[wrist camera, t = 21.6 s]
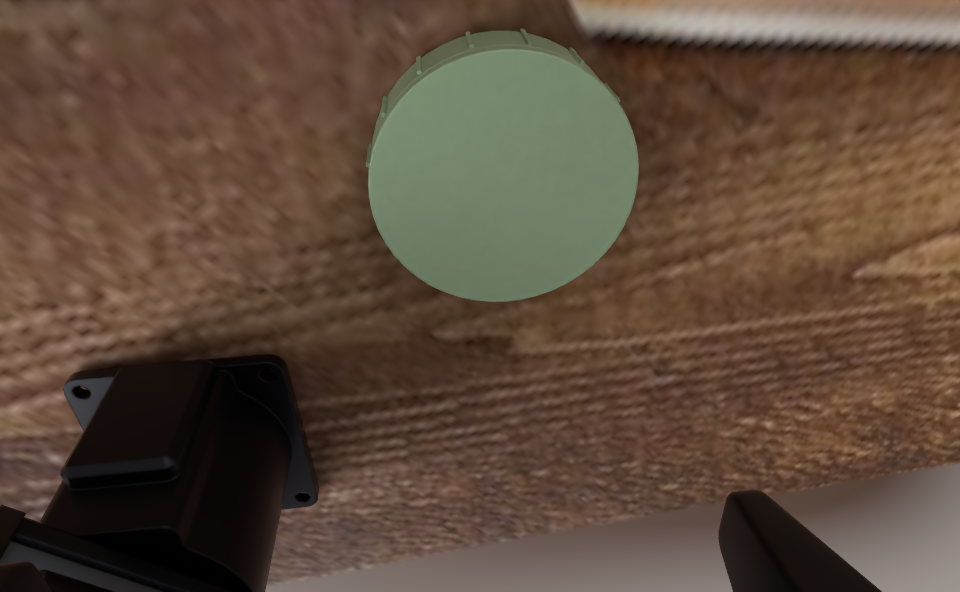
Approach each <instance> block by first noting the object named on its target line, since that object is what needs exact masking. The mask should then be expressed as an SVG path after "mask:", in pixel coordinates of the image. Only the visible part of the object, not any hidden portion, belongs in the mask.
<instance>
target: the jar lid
mask: <svg viewBox="0 0 960 592" xmlns="http://www.w3.org/2000/svg"><path fill="white" fill-rule="evenodd" d="M465 34H466V36H463V37H459V38H457V39H454V40H452V41H450V42H447V43H445V44H442V45H441V46H439V47H437V48H436V49H434V50H432V51H430V52H429V53H427V54H426V55H424V56H423V57H422V58H421V56H420V55H419V56H418V57H416V62H415V63H414V64H413V65H412V66H411V67H410V68H409V69H408V70H407V71H406V72H405V73H404V74H403V75H402V76H401V77H400V79H399V80H398V81H397V83H396V84H395V85H394V87H393V88H392V90H391V91H390V93H389V95H388V96H387V97H386V96H384V97H383V98H382V106H381V111H380V113H379V116H378V119H377V121H376V126H375V130H374V134H373V140H372V144H369V146H368V153H367V160H366V167H369V173H368V192H369V201H370V206H371V211H372V215H373V218H374V220H375V223H376V226H377V229H378V231H379V233H380V234H381V236H382V238H383V240H384V242H385V244H386V245H387V247H388V248H389V249H390V251H391V252H392V254H393V255H394V256H395V257H396V258H397V259H398V260H399V262H400V263H401V264H402V265H403V266H404V267H405V268H406V269H408V270H409V271H410V272H411V273H412V274H414V275H415V276H416V277H417V278H419V279H420V280H422V281H424V282H425V283H427V284H428V285H430V286H432V287H434V288H436V289H438V290H441V291H443V292H445V293H448V294H451V295H454V296H457V297H460V298H465V299H470V300H475V301H485V302H508V301H516V300H523V299H527V298H531V297H535V296H539V295H542V294H545V293H547V292H550V291H553V290H555V289H557V288H559V287H561V286H563V285H565V284H567V283H569V282H571V281H572V280H574V279H575V278H577V277H579V276H580V275H582V274H583V273H584V272H585V271H587V270H588V269H589V268H590V267H592V266H593V265H594V264H595V263H596V262H597V261H598V260H599V259H600V258H601V257H602V256H603V255H604V254H605V253H606V252H607V251H608V249H609V248H610V247H611V245H612V244H613V243H614V242H615V240H616V239H617V237H618V235H619V234H620V232H621V231H622V229H623V227H624V225H625V223H626V221H627V219H628V217H629V214H630V212H631V209H632V206H633V203H634V199H635V196H636V190H637V185H638V173H639V161H638V151H637V145H636V141H635V137H634V133H633V130H632V128H631V125H630V123H629V120H628V118H627V116H626V114H625V112H624V111H623V109H622V107H621V106H620V104H619V103H620V102H621V101H620V99H619V98H618V96H617V95H616V94H615V93H614V92H613V90H612V89H611V88H610V87H609V86H608V85H607V83H605V84H603V83H602V82H601V80H600V79H599V78H598V77H597V76H596V74H595V73H594V72H593V71H592V70H591V68H590V67H589V66H588V65H587V64H586V63H585V62H584V61H583V60H582V59H581V57H580V56H579V55H578V54H577V53H576V51H575V50H574V49H573V48H571V47H570V48H569V50H568V49H566V48H565V47H563V46H561V45H559V44H557V43H555V42H553V41H551V40H548V39H546V38H543V37H539V36H536V35H533V34H529V33H527V32H526V31H525V29H520V32H516V31H488V32H479V33H474V34H470V31H468V32H465Z"/></svg>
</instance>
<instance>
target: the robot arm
mask: <svg viewBox="0 0 960 592" xmlns="http://www.w3.org/2000/svg"><path fill="white" fill-rule="evenodd" d="M264 369H271V370H273V371H274V372H275V373H273V374H270V373H266V372H264V371H263V370H264ZM80 386H83V387H85V388H88V389H89V390H85V389H83V388H81V387H80ZM63 390H64V394H65V396H66V398H67V400H68V402H69V404H70V406H71V408H72V410H73V412H74V414H75V416H76V417H77V419H78V421H79V423H80V425H81V427H82V429H83V433H82V435H81V437H80V438H79V440H78V442H77V444H76V445H75V447H74V449H73V451H72V452H71V454H70V456H69V458H68V459H67V461H66V463H65V465H64V467H63V468H62V470H61V474H60V475H61V477H62V479H63V481H62V483H61V484H60V486H59V488H58V490H57V492H56V493H55V495H54V497H53V499H52V501H51V502H50V504H49V506H48V508H47V510H46V511H45V513H44V515H43V517H42V519H41V520H40V522H37V521H34V520H31V519H28V518H25V517H24V516H25V514H26V513H24V512H21V511H18V510H16V509H13V508H10V507H7V506H4V505H1V506H0V592H265V589H266V584H267V579H268V574H269V569H270V564H271V559H272V554H273V549H274V543H275V538H276V533H277V528H278V523H279V518H280V513H281V509H291V508H301V507H308V506H311V505H313V504H315V503H316V501H317V500H318V493H319V486H318V482H317V478H316V474H315V470H314V467H313V463H312V459H311V455H310V452H309V448H308V444H307V440H306V437H305V433H304V429H303V425H302V421H301V418H300V414H299V410H298V406H297V403H296V399H295V395H294V391H293V387H292V384H291V380H290V376H289V372H288V369H287V365H286V363H285V362H284V360H282V359H281V358H280V357H278V356H275V355H268V354H266V355H255V356H244V357H233V358H221V359H210V360H192V361H181V362H170V363H159V364H148V365H137V366H125V367H121V368H110V369H99V370H88V371H79V372H76V373H74V374H73V375H71V376H70V378H69V379H68V381H67V382H66V384H65V386H64V389H63ZM301 492H303V493H301ZM719 544H720V549H721V553H722V556H723V559H724V562H725V566H726V569H727V573H728V576H729V579H730V582H731V586H732V589H733V592H881V591H880V590H879V589H878V588H877V587H876V586H875V585H873V584H872V583H871V582H870V581H869V580H867V579H866V578H865V577H864V576H863V575H861V574H860V573H859V572H858V571H857V570H855V569H854V568H853V567H852V566H851V565H849V564H848V563H847V562H846V561H845V560H844V559H842V558H841V557H840V556H839V555H838V554H836V553H835V552H834V551H833V550H832V549H831V548H829V547H828V546H827V545H826V544H825V543H823V542H822V541H821V540H820V539H819V538H817V537H816V536H815V535H814V534H813V533H811V532H810V531H809V530H808V529H807V528H806V527H804V526H803V525H802V524H801V523H800V522H798V521H797V520H796V519H795V518H793V517H792V516H791V515H790V514H789V513H788V512H787V511H785V510H784V509H783V508H782V507H781V506H779V505H778V504H777V503H776V502H775V501H773V500H772V499H771V498H770V497H769V496H767V495H766V494H765V493H763V492H761V491H758V490H749V491H739V492H732V493H730V494H729V495H728V497H727V499H726V503H725V507H724V511H723V515H722V519H721V524H720V528H719Z"/></svg>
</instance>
